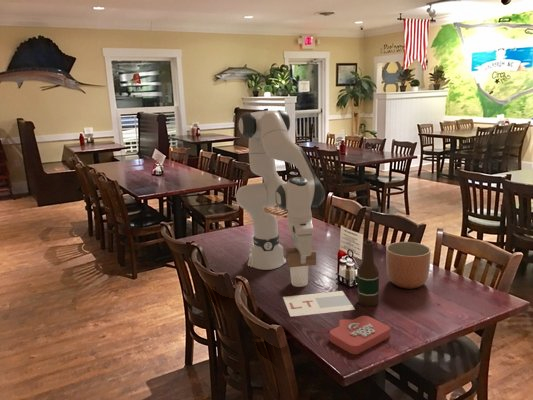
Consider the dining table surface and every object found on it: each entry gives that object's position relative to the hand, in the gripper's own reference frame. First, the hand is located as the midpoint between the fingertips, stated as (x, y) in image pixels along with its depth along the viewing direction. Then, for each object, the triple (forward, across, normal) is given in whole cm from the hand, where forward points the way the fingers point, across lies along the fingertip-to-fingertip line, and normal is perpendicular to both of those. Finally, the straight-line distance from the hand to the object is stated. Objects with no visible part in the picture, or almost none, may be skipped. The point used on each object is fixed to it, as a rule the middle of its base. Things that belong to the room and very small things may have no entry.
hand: (300, 259), depth 166 cm
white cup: (+19, -19, +3) cm, 27 cm away
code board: (+19, 0, +6) cm, 20 cm away
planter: (+19, -10, +46) cm, 51 cm away
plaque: (+20, +24, +13) cm, 34 cm away
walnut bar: (+2, 0, 0) cm, 2 cm away
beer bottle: (+19, +2, +25) cm, 32 cm away
